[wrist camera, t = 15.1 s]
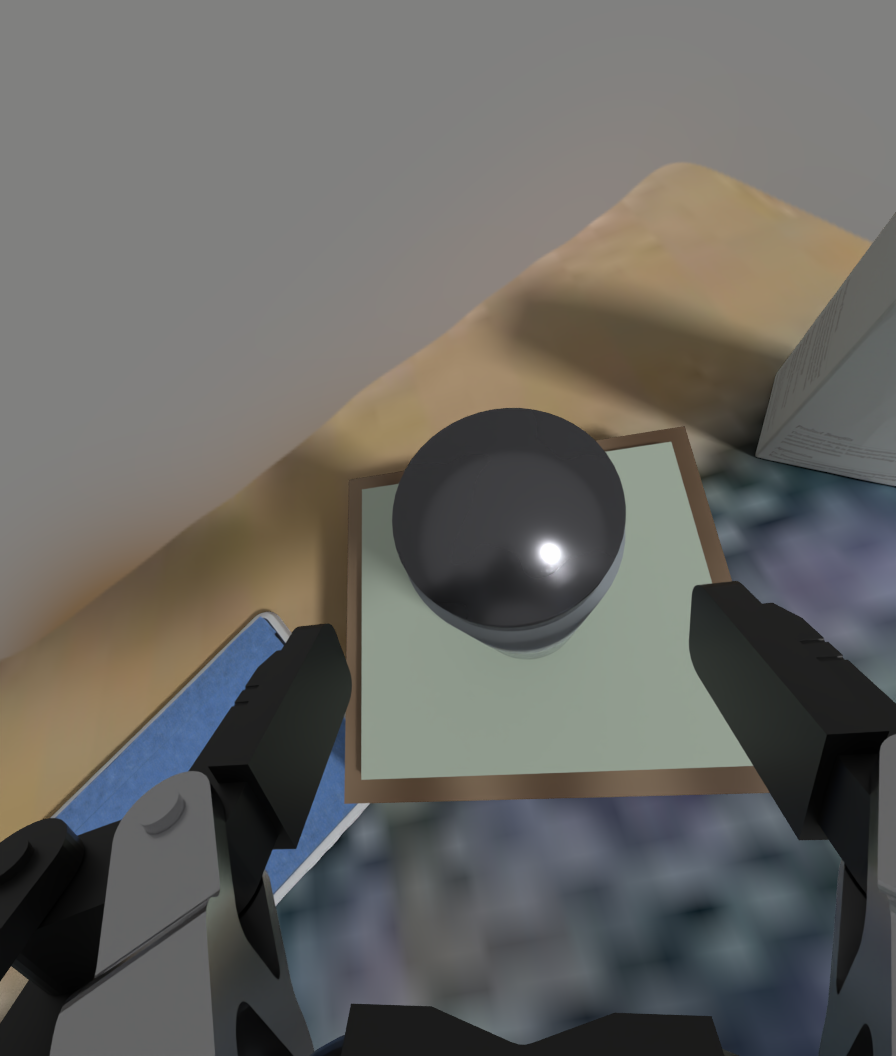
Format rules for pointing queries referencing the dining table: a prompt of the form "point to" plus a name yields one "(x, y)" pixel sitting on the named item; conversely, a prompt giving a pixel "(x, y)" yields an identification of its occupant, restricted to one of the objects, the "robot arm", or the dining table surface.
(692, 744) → the plinth
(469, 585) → the ceramic jar
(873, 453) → the skincare box
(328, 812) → the blue notebook
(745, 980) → the dining table surface
